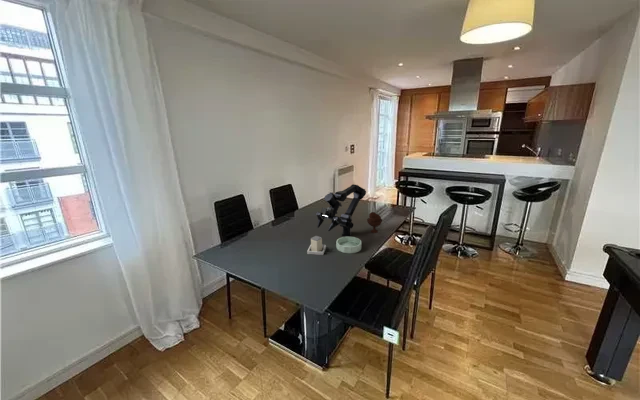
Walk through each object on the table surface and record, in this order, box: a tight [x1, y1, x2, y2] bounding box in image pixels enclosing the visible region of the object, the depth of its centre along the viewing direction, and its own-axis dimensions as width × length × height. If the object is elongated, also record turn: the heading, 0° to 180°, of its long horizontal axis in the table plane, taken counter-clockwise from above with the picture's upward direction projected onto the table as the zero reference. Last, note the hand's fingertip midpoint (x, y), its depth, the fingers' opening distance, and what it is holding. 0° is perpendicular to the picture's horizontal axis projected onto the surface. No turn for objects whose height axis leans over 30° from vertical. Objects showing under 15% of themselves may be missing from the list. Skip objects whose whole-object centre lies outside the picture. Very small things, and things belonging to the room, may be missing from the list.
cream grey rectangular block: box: [310, 235, 323, 252], centre depth 167 cm, size 5×5×9 cm
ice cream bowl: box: [366, 211, 383, 234], centre depth 194 cm, size 11×11×15 cm
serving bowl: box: [335, 236, 362, 254], centre depth 171 cm, size 16×16×4 cm
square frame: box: [306, 244, 327, 256], centre depth 168 cm, size 10×10×2 cm
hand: (323, 229), depth 170 cm, fingers open, 9 cm apart
